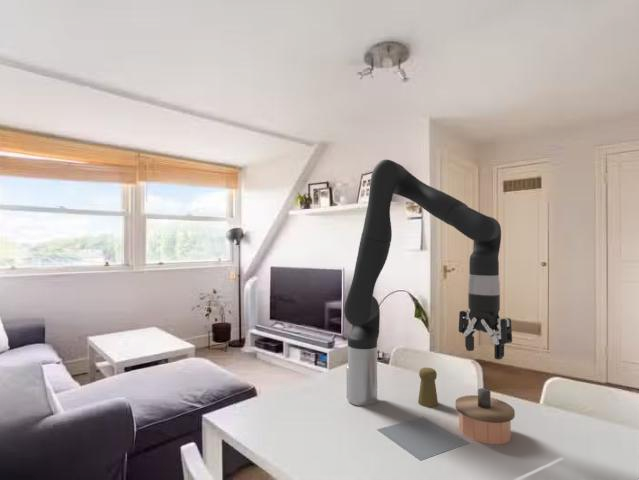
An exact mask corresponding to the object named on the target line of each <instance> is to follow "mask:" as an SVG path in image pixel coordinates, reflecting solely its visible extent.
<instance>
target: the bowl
mask: <svg viewBox="0 0 639 480" xmlns="http://www.w3.org/2000/svg"><path fill="white" fill-rule="evenodd" d="M458 429H459V430H460V432H461V433H462V434H463V436H465V437H467V438H469V439H471V440H473V441H475V442H478V443H482V444H483V443H484V444H487V445H502V444H505V443H509V442H510V441H511V437H512V420H511V421H508V422H502V423H492V422H484V421H479V420H475V419H472V418H469V417H467V416H465V415H463V414H461V413H460V412H459V411H458Z"/></svg>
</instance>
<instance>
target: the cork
mask: <svg viewBox="0 0 639 480" xmlns="http://www.w3.org/2000/svg"><path fill="white" fill-rule="evenodd" d="M418 376H419V378H420V386H419V391H418V392H419V393H418V398H417V399H418V400H417V403H418V405H420V406H421V407H425V408H436V407H438V406H439V401H438V393H437V388H436V386H437V385H436V380H437V376H438V375H437V371H436V370H435V368H432V367H422V368H420V369H419V372H418Z"/></svg>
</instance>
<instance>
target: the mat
mask: <svg viewBox="0 0 639 480" xmlns="http://www.w3.org/2000/svg"><path fill="white" fill-rule="evenodd" d="M376 431H378V432H379V433H380V434H382V435H383V436H385V437H387V438H388V439H389V440H390V441H392V442H393V443H395V444H396V445H397V446H399V447H400V448H402V449H403V450H404V451H405V452H408V453H409V454H411V456H413V457H414V458H416V459H417V460H419V461H420V462H421V461H424V460H427V459H428V458H432V457H435V456H438V455H441V454H443V453H446V452H449V451H452V450H454V449H456V448H460V447H462V446H466V445H468V444H470V442H469V441H467V440H466V439H464V438H462V437H461V436H460V435H456V434H455V433H453V432H452V431H449V430H448V429H446V428H445V427H443V426H440V425H439V424H437V423H435V422H433V421H432V420H430V419H428V418H426V417H424V416H419V417H416V418H413V419H409V420H406V421H402V422H398V423H395V424H391V425H388V426H385V427H381V428H378V429H376Z"/></svg>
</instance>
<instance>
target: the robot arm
mask: <svg viewBox="0 0 639 480" xmlns="http://www.w3.org/2000/svg"><path fill="white" fill-rule="evenodd" d="M369 185H370V186H369V192H368V193H369V194H368V202H367V209H366V214H365V218H364V222H363V223H364V224H363V228H362V233H361V236H360V241H359V245H358V251H357V257H356V261H355V266H354V271H353V278H352V280H351V283H350V288H349V291H348V294H347V297H346V300H345V302H344V307H343V308H344V309H343V311H344V312H343V313H344V317H345V319H346V321H347V322H348V323H349V324H350V325H351V330H350V332H349V335H348V337H347V367H346V398H347V401H348V402H349V403H350V404H352V405H355V406H357V407H359V406H360V407H364V406H371V405H374V404H376V403H378V339H379V337H380V324H381V323H380V317H381V316H380V315H381V314H380V313H381V311H380V309H381V308H380V305H379V302H378V300H377V298H376V297H374V296H373V295H374V291H375V287H376V283H377V281H378V279H379V277H380V274H381V272H382V270H383V268H384V266H385V264H386V261H387V259H388V255H389V252H390V248H391V243H392V238H393V237H392V236H393V234H392V232H393V231H392V222H391V205H392V199H393V195H397V196H400V197H403V198H405V199H408V200H409V201H411V202H413V203H415V204H417V205H418V206H420V207H421V208H422V209H423V210H425V211H426V212H427V213H429V214H431V215H432V216H434V217H435V218H437V219H438V220H440V221H442V222H444V223H445V224H447V225H449V226H451V227H453V228H454V229H456V231H459V232H460V233H461V234H462V235H463V236H465V237H467V238H468V239H470V240H472V241H473V247H472V249H473V250H472V252H471V254H470V256H469V270H468V271H469V276H468V282H467V283H468V289H467V290H468V294H467V295H468V300H467V301H468V302H467V303H468V306H467V307H468V309H469V310H461V311H459V313H458V314H459V317H458V332H459V333H460V334H462V335H464V339H465V341H464V342H465V343H464V344H465V345H464V346H465V349H466V351H468V352H472V351H474V350H475V336H474V335H475V334H476V332H477V331H479V332H483V333H487V334H488V336H489V337H490V338H492V340H493V342H494V351H493V352H494V355H493V356H494V360H502V359H503V358H504V357H505V345H506V344H511V343H512V342H513V334H512V333H513V329H512V320H511V318H509V317H507V318H500V316H499V315H500V314H499V312H500V311H501V287H500V286H501V285H500V284H501V283H500V276H499V275H500V267H499V266H500V265H499V264H500V263H499V254H500V248H501V242H502V241H501V240H502V227H501V224H500V222H499V221H498V220H497V219H496V218H494V217H491V216H489V215H485V214H484V213H481V212H480V211H477V210H475V209H474V208H471V207H469V206H468V205H467V204H466V203H464V202H462V201H461V200H459V199H457V198H455V197H454V196H451V195H450V194H448V193H446V192H443V191H442V190H439V189H437V188H436V187H432V186H431V185H428V184H427V183H425V182H423V181H422V180H420V179H418V178H417V177H416V176H414V174H412V173H411V172H409V170H407V169H406V168H405V167H404V166H403V165H402V164H400V163H397V162H396V161H393V160H391V159H382V160H380V161H379V162H378V163H376V164H375V166H374V167H373V169H372V172H371V177H370V184H369ZM469 320H470V321H469Z"/></svg>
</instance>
